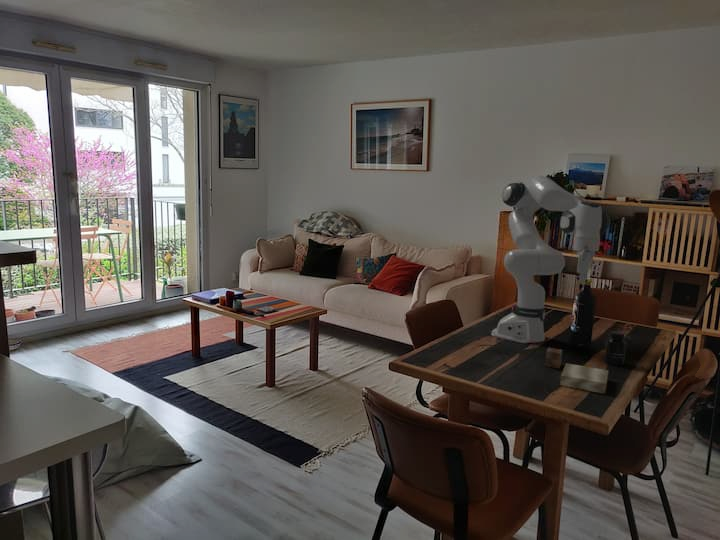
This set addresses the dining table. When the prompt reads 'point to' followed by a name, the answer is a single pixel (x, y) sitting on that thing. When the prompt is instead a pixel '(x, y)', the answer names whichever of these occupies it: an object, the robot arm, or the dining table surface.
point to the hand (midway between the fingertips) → (583, 282)
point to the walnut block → (553, 358)
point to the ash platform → (584, 378)
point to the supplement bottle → (615, 349)
